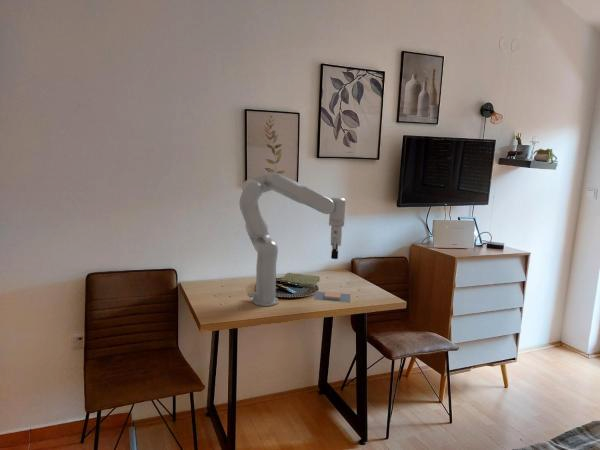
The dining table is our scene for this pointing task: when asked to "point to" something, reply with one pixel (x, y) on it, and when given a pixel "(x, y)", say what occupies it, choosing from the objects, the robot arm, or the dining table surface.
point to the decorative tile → (301, 279)
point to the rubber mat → (342, 299)
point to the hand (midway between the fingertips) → (334, 258)
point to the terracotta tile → (332, 295)
